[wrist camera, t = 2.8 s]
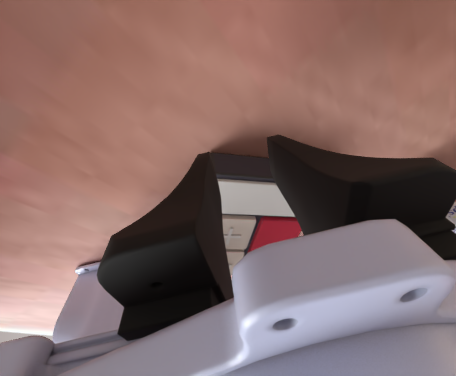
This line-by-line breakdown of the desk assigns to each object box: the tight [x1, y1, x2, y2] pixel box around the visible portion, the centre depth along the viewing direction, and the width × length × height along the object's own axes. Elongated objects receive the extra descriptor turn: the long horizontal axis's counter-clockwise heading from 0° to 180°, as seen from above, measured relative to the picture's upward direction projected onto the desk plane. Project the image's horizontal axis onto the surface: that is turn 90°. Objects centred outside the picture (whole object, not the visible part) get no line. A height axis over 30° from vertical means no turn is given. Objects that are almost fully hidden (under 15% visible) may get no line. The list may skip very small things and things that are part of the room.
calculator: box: [210, 153, 302, 275], centre depth 24 cm, size 11×4×15 cm
